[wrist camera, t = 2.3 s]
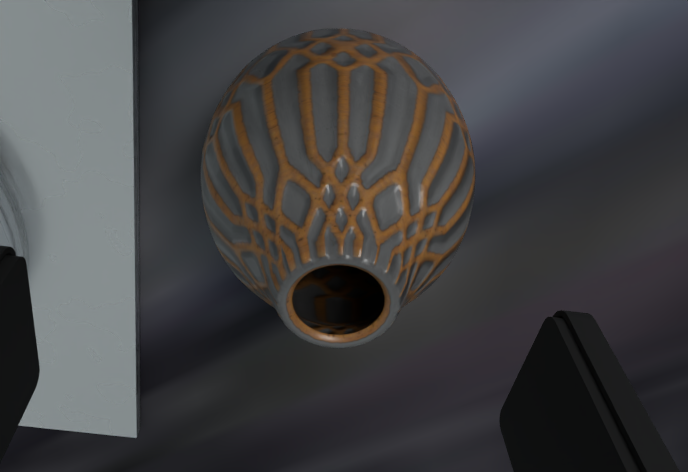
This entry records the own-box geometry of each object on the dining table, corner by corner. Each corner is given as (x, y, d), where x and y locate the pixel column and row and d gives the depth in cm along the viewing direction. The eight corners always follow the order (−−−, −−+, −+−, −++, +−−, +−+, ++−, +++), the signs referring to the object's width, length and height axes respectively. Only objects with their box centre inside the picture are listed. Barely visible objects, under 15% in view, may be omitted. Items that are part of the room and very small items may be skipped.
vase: (386, -51, 16) (425, 65, 9) (485, 153, 20) (569, 352, 13) (177, 75, 18) (74, 252, 11) (301, 241, 22) (283, 457, 15)
